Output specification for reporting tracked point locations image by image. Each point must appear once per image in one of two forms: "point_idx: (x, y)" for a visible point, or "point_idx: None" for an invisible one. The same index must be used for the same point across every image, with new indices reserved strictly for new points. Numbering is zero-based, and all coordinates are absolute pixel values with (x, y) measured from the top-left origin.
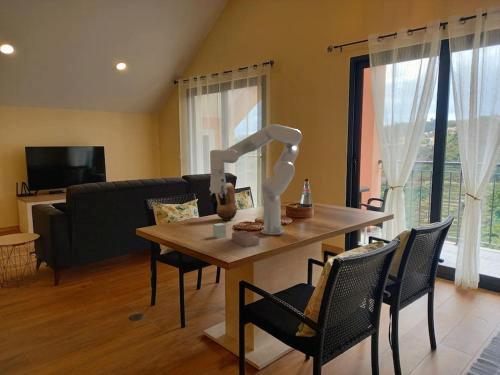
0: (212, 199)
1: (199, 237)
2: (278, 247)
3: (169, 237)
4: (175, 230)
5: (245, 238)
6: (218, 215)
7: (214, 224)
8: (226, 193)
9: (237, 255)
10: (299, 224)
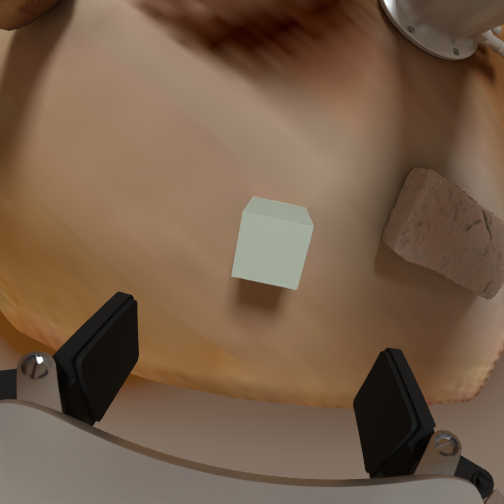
0: (117, 381)
1: (198, 297)
2: None
3: None
4: (37, 267)
5: (491, 293)
6: (19, 27)
7: (243, 272)
8: (490, 492)
9: (479, 360)
10: None
